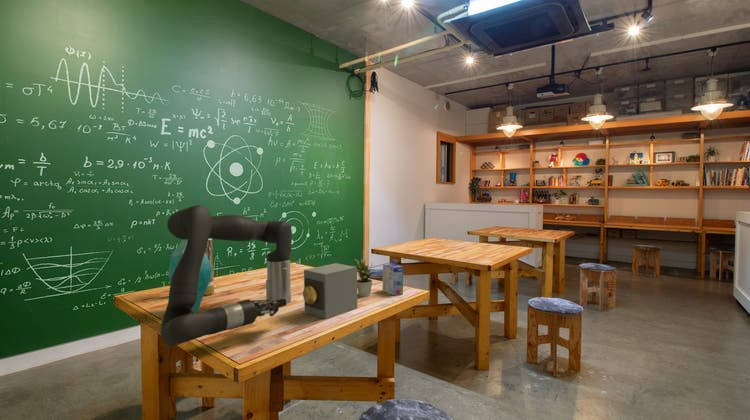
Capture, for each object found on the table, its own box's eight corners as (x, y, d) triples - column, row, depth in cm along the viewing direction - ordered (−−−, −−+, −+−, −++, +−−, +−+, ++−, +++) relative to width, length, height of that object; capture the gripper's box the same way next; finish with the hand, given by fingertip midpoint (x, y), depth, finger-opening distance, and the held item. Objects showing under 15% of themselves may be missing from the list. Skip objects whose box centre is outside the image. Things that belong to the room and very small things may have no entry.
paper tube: (200, 292, 167) (198, 237, 165) (216, 292, 167) (214, 237, 166) (194, 296, 160) (192, 239, 159) (210, 296, 160) (208, 239, 159)
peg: (314, 306, 130) (314, 288, 130) (303, 302, 134) (302, 285, 134) (344, 296, 141) (344, 280, 141) (333, 293, 145) (333, 277, 145)
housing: (325, 319, 130) (325, 274, 129) (304, 312, 138) (303, 269, 137) (357, 308, 142) (356, 267, 141) (336, 302, 150) (335, 263, 149)
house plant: (338, 294, 162) (338, 257, 161) (363, 288, 171) (362, 253, 170) (359, 301, 151) (359, 261, 150) (384, 294, 160) (384, 257, 159)
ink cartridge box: (404, 294, 161) (403, 261, 160) (393, 296, 158) (392, 262, 157) (392, 289, 169) (392, 257, 169) (382, 290, 167) (381, 259, 166)
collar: (322, 310, 130) (321, 282, 130) (304, 305, 137) (304, 278, 136) (323, 310, 131) (323, 282, 130) (306, 304, 137) (305, 278, 137)
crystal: (166, 313, 138) (162, 233, 137) (202, 304, 149) (199, 230, 148) (181, 319, 131) (178, 235, 129) (218, 309, 142) (215, 232, 140)
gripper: (247, 307, 107) (296, 294, 120) (225, 298, 115) (273, 287, 128) (248, 332, 107) (297, 317, 120) (226, 322, 116) (273, 308, 129)
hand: (284, 301), depth 124 cm, fingers closed
